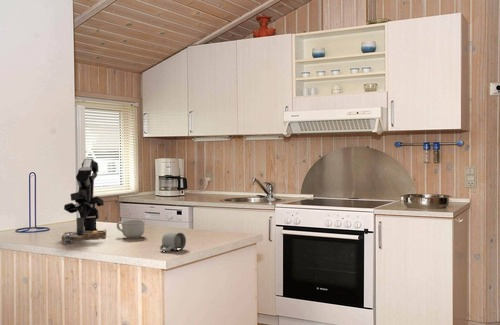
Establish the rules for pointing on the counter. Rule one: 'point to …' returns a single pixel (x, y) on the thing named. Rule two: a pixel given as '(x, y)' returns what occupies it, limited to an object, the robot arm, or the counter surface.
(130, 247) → the counter surface
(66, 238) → the pivot post
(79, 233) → the lever
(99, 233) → the lane
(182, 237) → the ceramic mug
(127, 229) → the teacup
